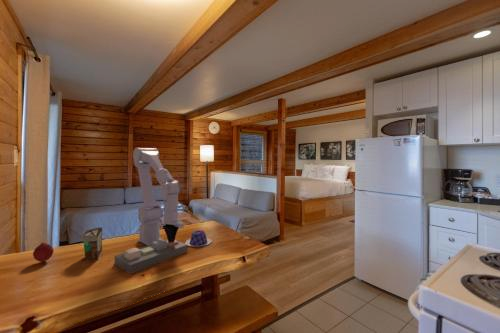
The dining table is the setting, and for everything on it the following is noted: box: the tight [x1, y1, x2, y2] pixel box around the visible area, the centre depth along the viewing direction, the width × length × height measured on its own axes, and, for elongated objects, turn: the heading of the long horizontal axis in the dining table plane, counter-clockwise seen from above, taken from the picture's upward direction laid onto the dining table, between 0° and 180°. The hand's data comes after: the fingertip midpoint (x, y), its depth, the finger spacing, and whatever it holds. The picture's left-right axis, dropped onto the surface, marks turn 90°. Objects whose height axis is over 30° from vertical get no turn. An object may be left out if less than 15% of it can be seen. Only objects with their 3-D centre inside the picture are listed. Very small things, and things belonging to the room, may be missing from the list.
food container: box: [80, 226, 103, 261], centre depth 96 cm, size 12×6×10 cm, turn 23°
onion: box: [32, 240, 55, 263], centre depth 91 cm, size 6×6×8 cm
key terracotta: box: [167, 239, 179, 247], centre depth 102 cm, size 4×4×3 cm
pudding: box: [184, 230, 212, 248], centre depth 112 cm, size 12×12×5 cm
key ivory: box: [123, 247, 141, 261], centre depth 89 cm, size 4×4×3 cm
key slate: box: [152, 238, 167, 251], centre depth 98 cm, size 4×4×3 cm
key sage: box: [140, 247, 154, 255], centre depth 94 cm, size 4×4×3 cm
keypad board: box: [114, 239, 189, 274], centre depth 96 cm, size 12×24×3 cm, turn 142°
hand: (171, 241), depth 102 cm, fingers closed, pressing on key terracotta
